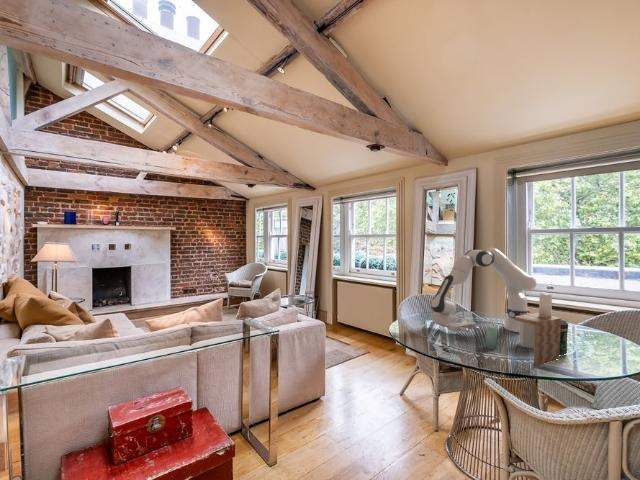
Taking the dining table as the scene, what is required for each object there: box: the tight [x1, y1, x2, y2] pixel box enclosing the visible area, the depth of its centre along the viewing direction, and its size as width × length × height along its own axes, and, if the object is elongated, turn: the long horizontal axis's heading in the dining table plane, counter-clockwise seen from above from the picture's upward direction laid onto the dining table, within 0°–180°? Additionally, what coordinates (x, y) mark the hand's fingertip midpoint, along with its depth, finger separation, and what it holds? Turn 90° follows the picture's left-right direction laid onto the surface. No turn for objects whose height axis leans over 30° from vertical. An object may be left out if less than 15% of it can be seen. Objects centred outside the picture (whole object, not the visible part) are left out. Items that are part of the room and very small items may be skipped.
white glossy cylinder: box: [538, 292, 553, 318], centre depth 168 cm, size 5×5×12 cm
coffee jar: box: [559, 319, 569, 356], centre depth 175 cm, size 10×8×19 cm
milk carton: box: [518, 313, 535, 349], centre depth 186 cm, size 7×7×19 cm
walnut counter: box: [514, 312, 562, 366], centre depth 167 cm, size 20×12×22 cm, turn 117°
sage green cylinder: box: [485, 325, 498, 351], centre depth 182 cm, size 5×5×12 cm
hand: (472, 329), depth 193 cm, fingers open, 8 cm apart
